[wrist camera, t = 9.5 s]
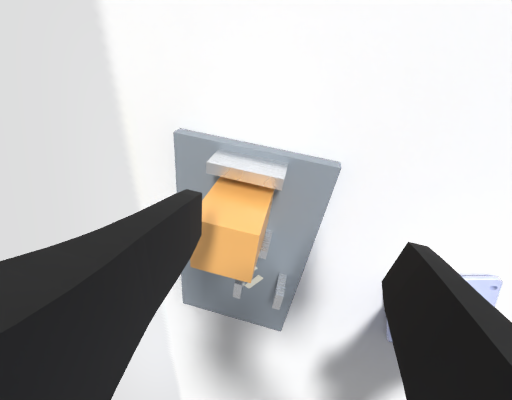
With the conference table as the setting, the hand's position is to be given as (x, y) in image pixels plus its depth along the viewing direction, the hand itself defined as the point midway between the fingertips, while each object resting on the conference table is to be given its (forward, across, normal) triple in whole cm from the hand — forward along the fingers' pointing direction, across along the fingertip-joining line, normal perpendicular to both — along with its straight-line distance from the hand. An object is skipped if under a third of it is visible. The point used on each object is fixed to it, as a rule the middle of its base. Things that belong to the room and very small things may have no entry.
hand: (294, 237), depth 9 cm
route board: (+10, +3, +11) cm, 15 cm away
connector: (+9, +3, +5) cm, 11 cm away
